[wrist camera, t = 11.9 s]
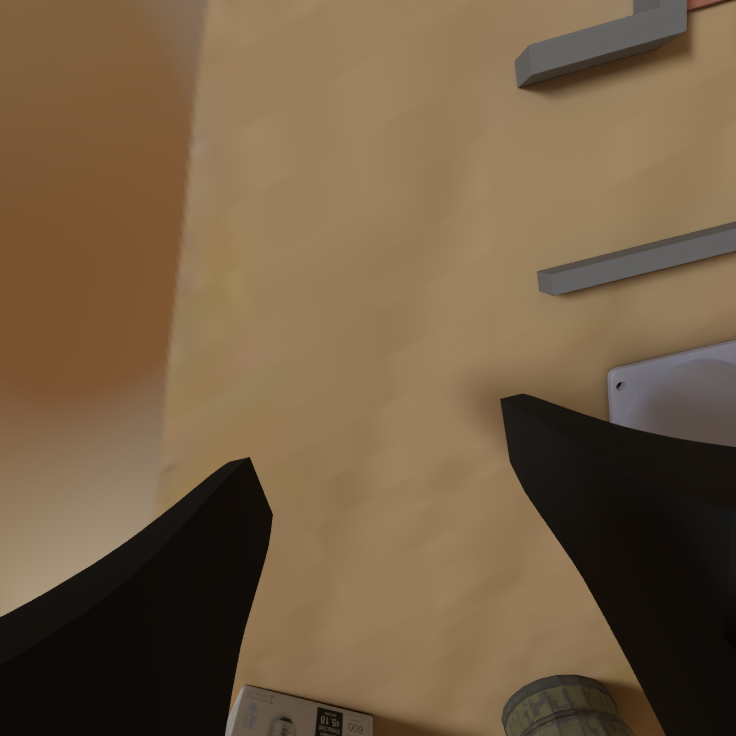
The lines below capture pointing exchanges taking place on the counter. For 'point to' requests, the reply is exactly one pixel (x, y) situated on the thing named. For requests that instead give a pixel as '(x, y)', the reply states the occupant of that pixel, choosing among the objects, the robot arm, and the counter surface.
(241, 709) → the light bulb box
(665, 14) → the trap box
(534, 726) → the grey stone statue
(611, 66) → the counter surface
